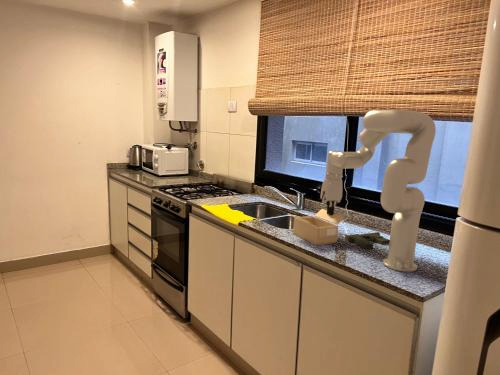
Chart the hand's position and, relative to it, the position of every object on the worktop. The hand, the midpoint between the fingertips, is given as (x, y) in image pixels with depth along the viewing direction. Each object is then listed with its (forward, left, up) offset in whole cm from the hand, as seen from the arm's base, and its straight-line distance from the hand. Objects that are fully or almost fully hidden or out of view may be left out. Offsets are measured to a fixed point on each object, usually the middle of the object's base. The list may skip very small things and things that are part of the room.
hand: (330, 214), depth 178 cm
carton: (-6, +6, -11) cm, 14 cm away
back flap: (0, 0, -1) cm, 1 cm away
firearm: (+1, -20, -12) cm, 23 cm away
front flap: (-12, +12, -1) cm, 17 cm away
